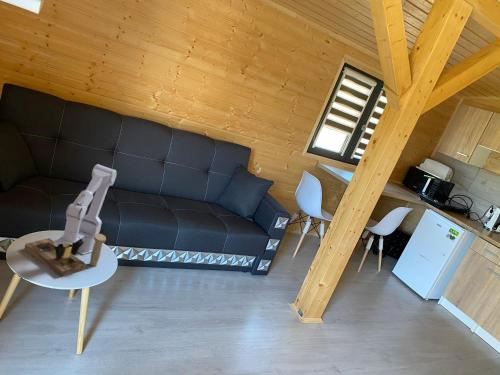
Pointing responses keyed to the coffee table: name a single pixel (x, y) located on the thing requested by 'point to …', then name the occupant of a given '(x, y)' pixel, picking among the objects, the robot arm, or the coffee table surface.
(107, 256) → the coffee table surface
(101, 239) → the handle
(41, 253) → the mount block
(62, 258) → the peg
